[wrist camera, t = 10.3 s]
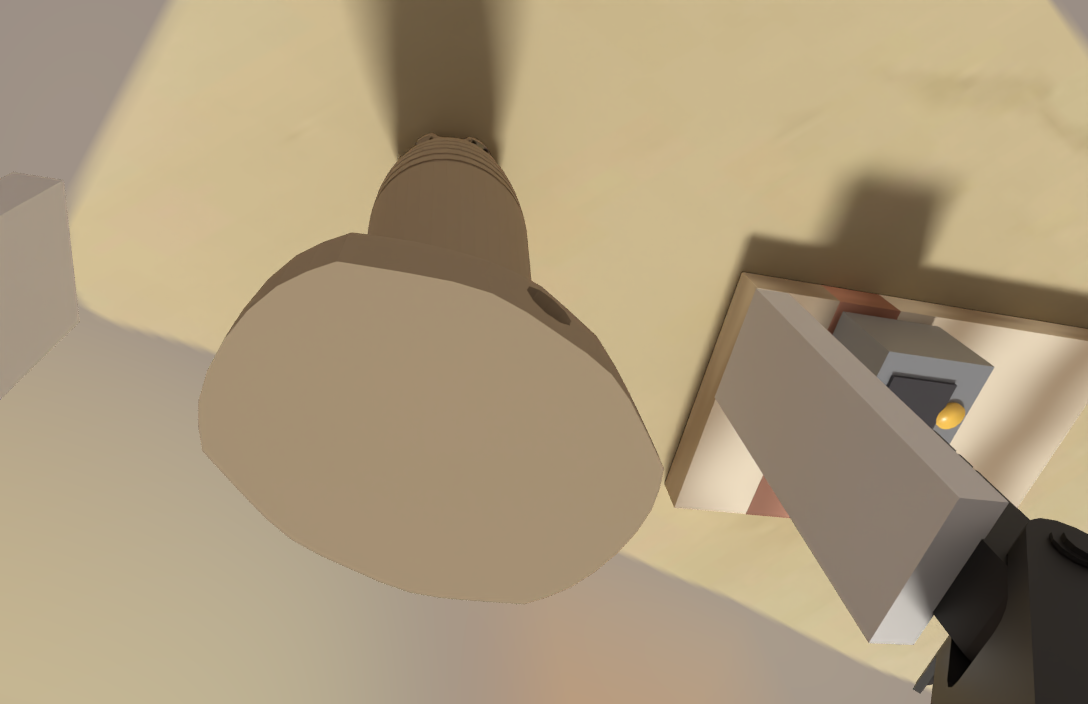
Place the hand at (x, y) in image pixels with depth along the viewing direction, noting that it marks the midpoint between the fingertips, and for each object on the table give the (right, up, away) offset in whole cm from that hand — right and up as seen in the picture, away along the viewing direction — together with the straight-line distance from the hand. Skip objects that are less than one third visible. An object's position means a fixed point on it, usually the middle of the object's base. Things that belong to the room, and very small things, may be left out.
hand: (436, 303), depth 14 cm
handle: (-1, +5, +9) cm, 10 cm away
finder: (+14, -1, +12) cm, 19 cm away
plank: (+16, -3, +16) cm, 23 cm away
